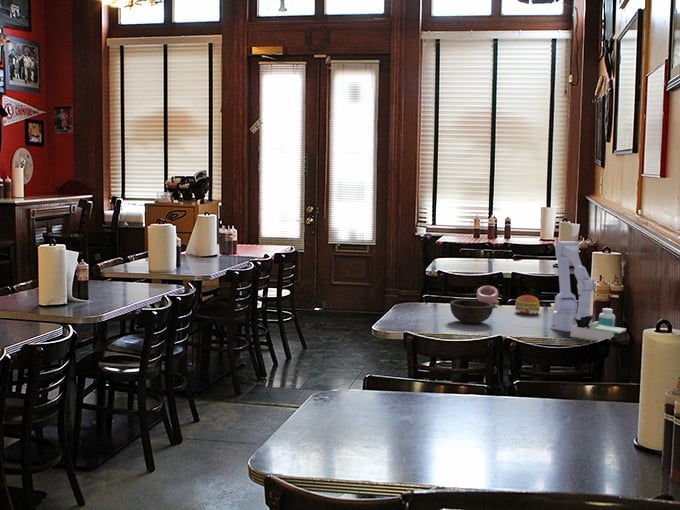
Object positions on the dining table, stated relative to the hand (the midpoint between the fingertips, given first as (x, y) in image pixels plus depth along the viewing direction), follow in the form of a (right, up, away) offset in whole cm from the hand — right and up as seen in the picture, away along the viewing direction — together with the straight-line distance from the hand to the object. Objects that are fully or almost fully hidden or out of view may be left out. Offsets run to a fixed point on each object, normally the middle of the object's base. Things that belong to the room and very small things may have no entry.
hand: (582, 332), depth 401 cm
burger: (-14, +5, +58) cm, 59 cm away
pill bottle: (+12, -3, +5) cm, 14 cm away
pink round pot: (-32, +8, +80) cm, 86 cm away
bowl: (-49, +2, +27) cm, 56 cm away
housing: (+3, -3, -2) cm, 5 cm away
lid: (+10, +2, -8) cm, 12 cm away
